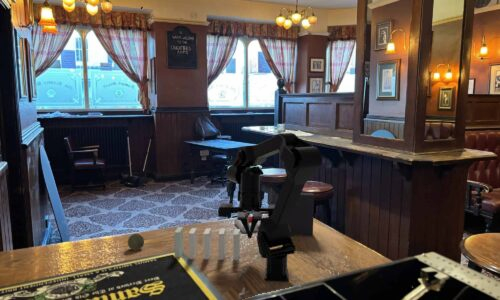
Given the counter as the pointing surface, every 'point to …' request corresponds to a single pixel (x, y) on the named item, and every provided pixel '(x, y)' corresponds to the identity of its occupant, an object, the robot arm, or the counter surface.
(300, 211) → the dark grey upright block
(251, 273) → the counter surface
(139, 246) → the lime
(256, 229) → the red button box
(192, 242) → the domino
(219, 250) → the domino
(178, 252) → the domino
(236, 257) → the domino
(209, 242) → the domino
